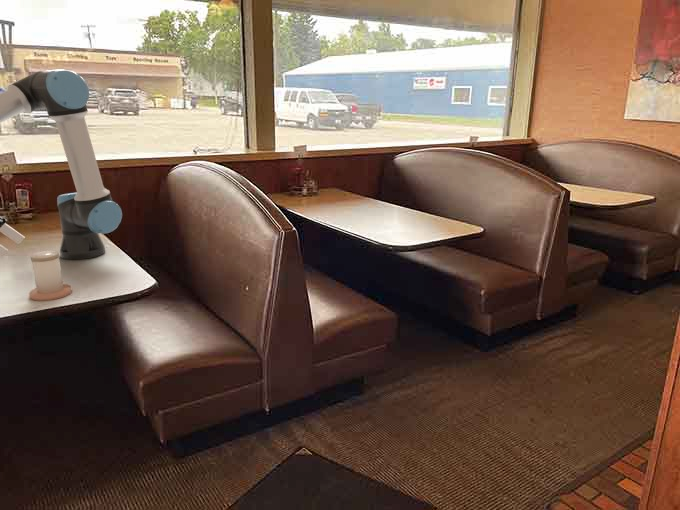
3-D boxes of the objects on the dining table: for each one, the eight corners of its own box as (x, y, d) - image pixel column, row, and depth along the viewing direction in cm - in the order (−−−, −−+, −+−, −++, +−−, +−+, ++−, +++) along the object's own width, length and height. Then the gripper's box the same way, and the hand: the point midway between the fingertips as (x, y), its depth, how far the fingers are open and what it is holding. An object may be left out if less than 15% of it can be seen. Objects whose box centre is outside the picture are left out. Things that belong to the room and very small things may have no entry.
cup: (40, 286, 156) (34, 251, 153) (66, 284, 158) (61, 249, 155) (33, 295, 149) (26, 258, 146) (61, 292, 151) (55, 256, 148)
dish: (37, 289, 158) (36, 285, 157) (76, 286, 160) (75, 282, 160) (24, 302, 147) (23, 298, 147) (66, 299, 150) (65, 295, 149)
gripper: (-46, 198, 151) (20, 244, 159) (-93, 217, 128) (-13, 270, 136) (-30, 179, 151) (36, 227, 159) (-74, 195, 128) (5, 249, 135)
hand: (13, 247), depth 147 cm, fingers open, 13 cm apart
